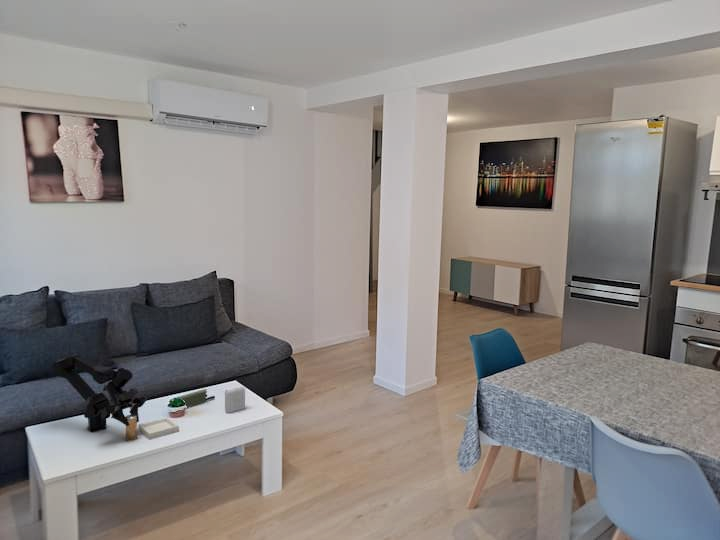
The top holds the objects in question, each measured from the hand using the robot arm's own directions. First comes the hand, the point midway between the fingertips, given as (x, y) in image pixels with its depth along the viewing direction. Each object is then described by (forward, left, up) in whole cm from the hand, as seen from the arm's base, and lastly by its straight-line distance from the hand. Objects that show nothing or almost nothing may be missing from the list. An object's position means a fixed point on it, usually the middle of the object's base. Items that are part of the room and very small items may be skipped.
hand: (133, 423), depth 225 cm
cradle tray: (+12, +2, -7) cm, 14 cm away
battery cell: (0, +1, -7) cm, 7 cm away
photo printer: (+50, +2, -7) cm, 50 cm away
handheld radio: (+37, +21, -7) cm, 43 cm away
